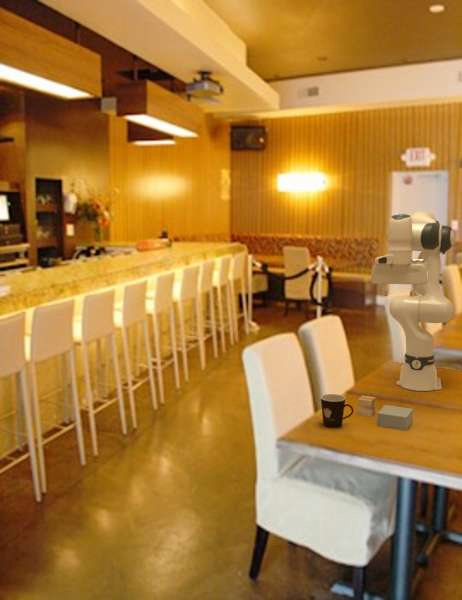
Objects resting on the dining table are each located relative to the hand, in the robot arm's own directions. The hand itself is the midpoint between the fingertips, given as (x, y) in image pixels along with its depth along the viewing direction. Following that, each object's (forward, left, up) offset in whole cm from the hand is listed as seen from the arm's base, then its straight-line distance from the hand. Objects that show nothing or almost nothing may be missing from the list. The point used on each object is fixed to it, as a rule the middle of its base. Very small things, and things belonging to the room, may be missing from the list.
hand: (398, 296), depth 223 cm
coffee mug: (+29, -14, -43) cm, 54 cm away
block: (+17, +4, -44) cm, 47 cm away
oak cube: (+11, -8, -43) cm, 45 cm away
